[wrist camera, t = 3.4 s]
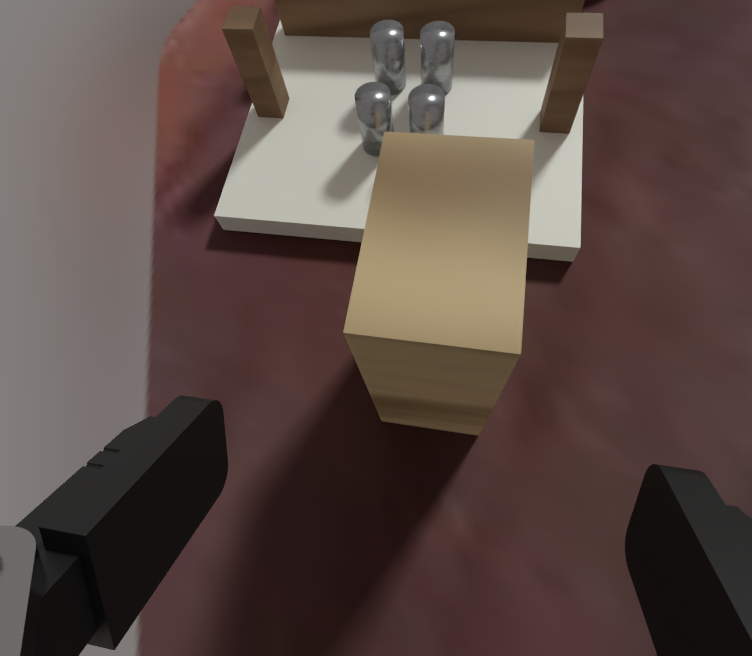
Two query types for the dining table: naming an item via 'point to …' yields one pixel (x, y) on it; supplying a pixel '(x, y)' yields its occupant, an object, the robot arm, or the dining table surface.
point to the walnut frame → (413, 11)
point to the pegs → (391, 81)
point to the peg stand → (343, 137)
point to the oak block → (442, 278)
